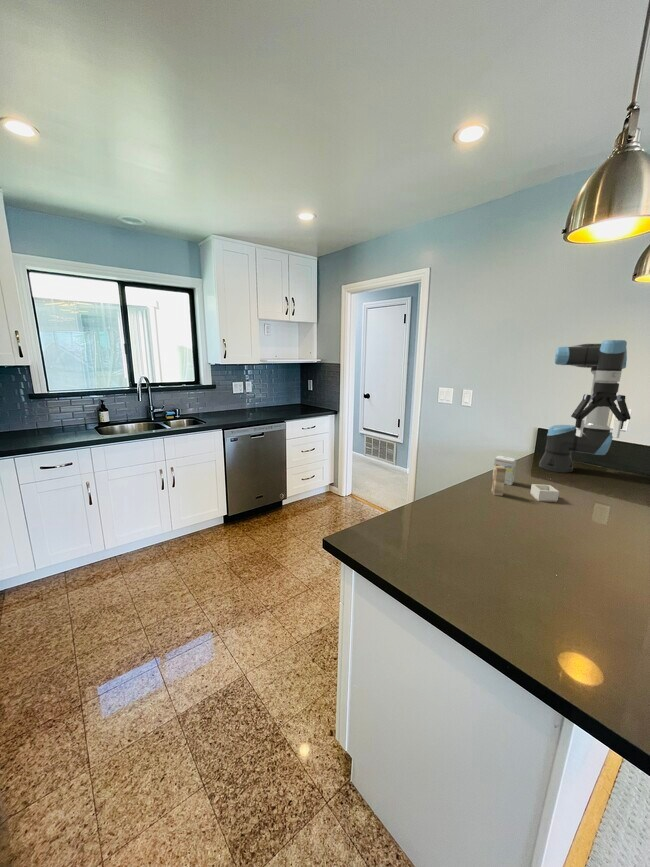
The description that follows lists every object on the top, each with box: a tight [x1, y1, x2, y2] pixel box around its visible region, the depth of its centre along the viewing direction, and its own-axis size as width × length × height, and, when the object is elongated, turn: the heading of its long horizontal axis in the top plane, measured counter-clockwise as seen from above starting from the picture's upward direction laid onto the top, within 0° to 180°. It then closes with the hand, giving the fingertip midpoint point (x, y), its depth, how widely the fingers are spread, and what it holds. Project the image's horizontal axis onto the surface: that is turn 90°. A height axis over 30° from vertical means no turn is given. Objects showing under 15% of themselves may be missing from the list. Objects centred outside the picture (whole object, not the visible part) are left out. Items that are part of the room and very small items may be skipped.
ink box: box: [491, 455, 517, 486], centre depth 164 cm, size 9×5×12 cm, turn 50°
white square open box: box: [529, 483, 560, 503], centre depth 147 cm, size 7×7×4 cm
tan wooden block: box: [491, 465, 506, 497], centre depth 150 cm, size 4×4×12 cm
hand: (596, 436), depth 137 cm, fingers open, 13 cm apart
